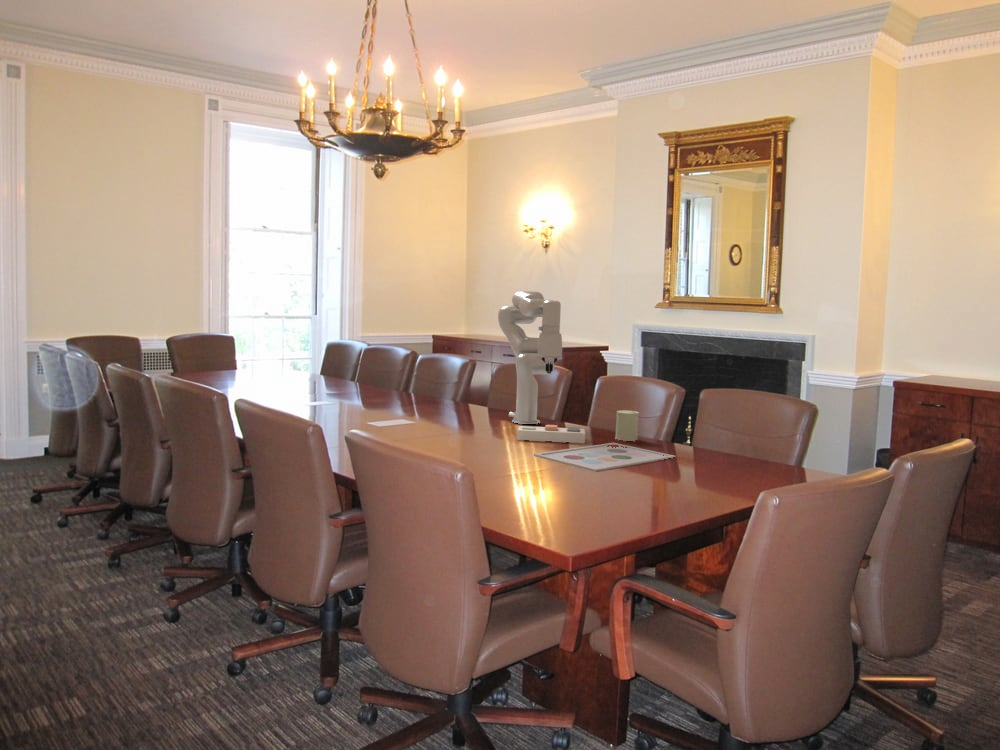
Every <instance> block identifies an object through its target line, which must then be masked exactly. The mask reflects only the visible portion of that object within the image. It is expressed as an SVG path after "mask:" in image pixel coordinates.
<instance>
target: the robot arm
mask: <svg viewBox="0 0 1000 750" xmlns="http://www.w3.org/2000/svg"><path fill="white" fill-rule="evenodd" d="M511 302H512V305H504V306H502V307H501V308H499V310H498V313H497V319H498V320H497V321H498V325H499V327H500V329H501V331H502V333H503V334H504V335H505V337H506V339H507V341H508V342H509V345H510V347H511V351H512V352H513V354H514V356H515V357H516V358H515V371H516V399H515V402H516V403H515V411H514V412H512V411H510V412H509V413H508V417H511V418H512V417H513V418H512V420H511V422H512V423H513V422H514V423H513V424H515V423H518V424H517V425H522V424H536V425H539V424H540V423H541V421H540V419H537V417H538V397H539V396H538V395H539V391H538V390H539V383H538V381H537V380H536V377H535V375H549V374H550V375H551V374H552V372H553V371H554V369H555V363H556V362H557V361H561V360H563V355H562V354H563V337H562V335H563V334H562V333H561V329H560V328H561V310H562V309H561V308H562V307H561V306H562V304H561V302H560V301H558V300H553V299H545V297H544V295H543V293H541V292H540V291H534V290H533V291H531V290H528V291H527V290H522V291H521V290H520V291H517V292H516V293H514V294H512V297H511ZM537 318H542V320H541V326H538V331H541V332H540V333H539V336H538V337H530V336H527V335H526V332H525V330H524V329H523V328H522V327H521V326H520V324H522V325H525V324H526V325H529V324H530V325H531V324H533V323H534V322H535V321H536V320H537ZM518 324H519V325H518ZM538 423H539V424H538Z"/></svg>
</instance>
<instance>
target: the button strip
mask: <svg viewBox="0 0 1000 750" xmlns="http://www.w3.org/2000/svg"><path fill="white" fill-rule="evenodd" d="M523 426H524V425H518V428H517V431H516V432H517V433H516V440H517V441H524V440H529V441H530V442H545V441H552V443H566V442H570V443H572V444H586V430H585V428H579V429H580V432H569V431H568V428H569V427H557V431H547V430H545V426H533V425H531V426H532V427H535V430H526V429H523ZM529 441H528V442H529Z"/></svg>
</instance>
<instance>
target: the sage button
mask: <svg viewBox="0 0 1000 750" xmlns="http://www.w3.org/2000/svg"><path fill="white" fill-rule="evenodd" d="M522 426H523V429H526V430H535V427H536V426H533V425H522ZM532 426H533V427H532Z"/></svg>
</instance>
